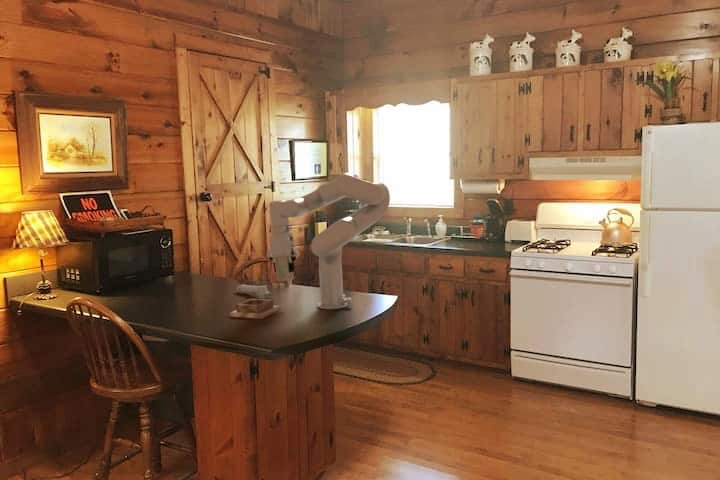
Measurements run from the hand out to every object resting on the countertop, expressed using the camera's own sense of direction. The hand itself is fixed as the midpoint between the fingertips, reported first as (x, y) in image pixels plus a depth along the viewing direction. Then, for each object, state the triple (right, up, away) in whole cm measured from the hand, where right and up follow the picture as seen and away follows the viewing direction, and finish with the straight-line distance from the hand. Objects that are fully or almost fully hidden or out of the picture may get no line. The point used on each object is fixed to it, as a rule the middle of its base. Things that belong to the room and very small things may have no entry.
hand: (284, 271), depth 256 cm
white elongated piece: (-18, -13, +25) cm, 34 cm away
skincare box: (0, -4, +1) cm, 4 cm away
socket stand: (-11, -17, -8) cm, 22 cm away
